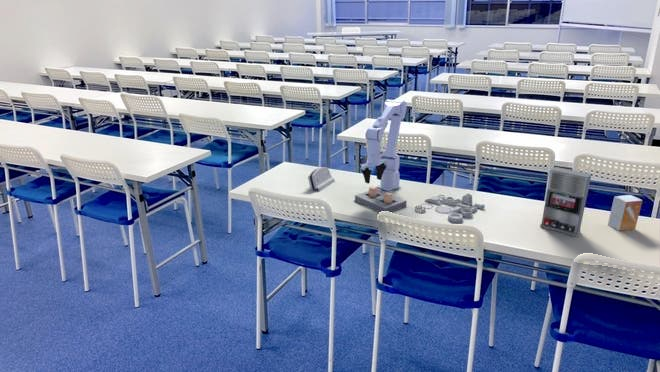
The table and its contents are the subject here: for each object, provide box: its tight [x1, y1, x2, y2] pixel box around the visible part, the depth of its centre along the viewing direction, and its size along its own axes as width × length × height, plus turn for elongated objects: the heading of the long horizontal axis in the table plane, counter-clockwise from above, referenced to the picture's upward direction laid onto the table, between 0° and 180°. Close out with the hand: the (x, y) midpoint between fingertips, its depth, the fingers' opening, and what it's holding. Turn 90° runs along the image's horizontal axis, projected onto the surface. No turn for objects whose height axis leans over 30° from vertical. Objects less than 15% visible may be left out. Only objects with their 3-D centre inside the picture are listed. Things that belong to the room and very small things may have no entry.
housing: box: [354, 188, 407, 212], centre depth 219 cm, size 20×14×2 cm
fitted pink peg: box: [384, 192, 394, 205], centre depth 215 cm, size 4×4×6 cm
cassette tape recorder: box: [539, 166, 592, 237], centre depth 188 cm, size 14×6×25 cm, turn 49°
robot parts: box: [414, 193, 485, 223], centre depth 212 cm, size 25×25×5 cm
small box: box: [607, 194, 643, 232], centre depth 192 cm, size 8×6×13 cm
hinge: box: [307, 166, 336, 192], centre depth 240 cm, size 17×5×10 cm, turn 151°
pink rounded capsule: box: [368, 185, 378, 198], centre depth 222 cm, size 4×4×6 cm
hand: (373, 181), depth 220 cm, fingers open, 7 cm apart
